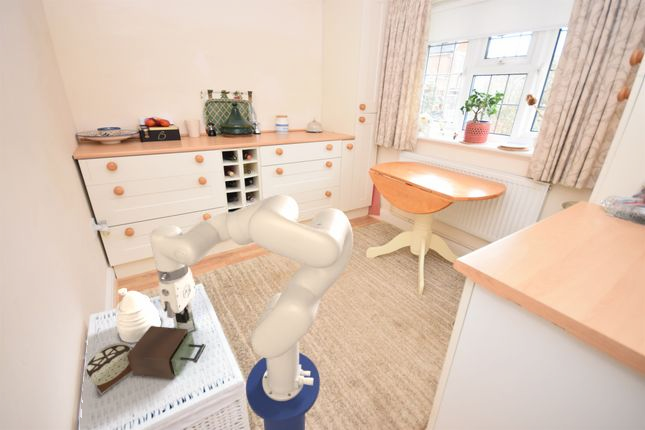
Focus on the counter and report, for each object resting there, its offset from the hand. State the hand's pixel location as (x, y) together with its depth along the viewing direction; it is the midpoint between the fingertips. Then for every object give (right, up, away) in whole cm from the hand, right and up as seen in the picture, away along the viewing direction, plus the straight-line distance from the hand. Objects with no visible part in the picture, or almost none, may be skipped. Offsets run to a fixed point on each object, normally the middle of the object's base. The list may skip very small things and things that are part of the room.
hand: (183, 320), depth 86 cm
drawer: (-5, -15, +7) cm, 18 cm away
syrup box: (-9, -11, +21) cm, 25 cm away
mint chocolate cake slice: (-23, -18, +2) cm, 29 cm away
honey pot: (-25, -10, +20) cm, 34 cm away
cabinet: (-10, -16, +8) cm, 21 cm away
